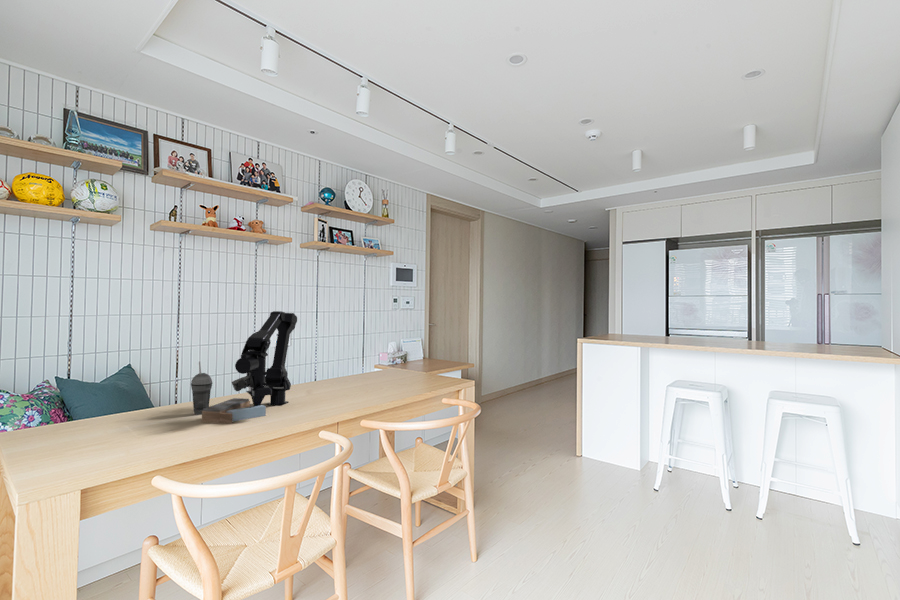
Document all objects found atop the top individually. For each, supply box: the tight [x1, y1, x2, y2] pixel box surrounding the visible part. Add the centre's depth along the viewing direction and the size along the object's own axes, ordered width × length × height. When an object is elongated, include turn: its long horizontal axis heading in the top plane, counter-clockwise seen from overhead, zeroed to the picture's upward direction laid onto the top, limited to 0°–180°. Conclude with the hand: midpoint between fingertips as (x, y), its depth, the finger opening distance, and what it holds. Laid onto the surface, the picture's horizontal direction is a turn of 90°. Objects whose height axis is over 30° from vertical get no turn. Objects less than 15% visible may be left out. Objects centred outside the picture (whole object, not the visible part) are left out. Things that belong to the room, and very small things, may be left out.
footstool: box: [201, 397, 251, 424], centre depth 160 cm, size 18×11×5 cm, turn 173°
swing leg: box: [226, 404, 267, 422], centre depth 157 cm, size 14×3×4 cm, turn 136°
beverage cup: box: [190, 361, 213, 416], centre depth 163 cm, size 7×7×20 cm
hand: (256, 410), depth 163 cm, fingers closed
